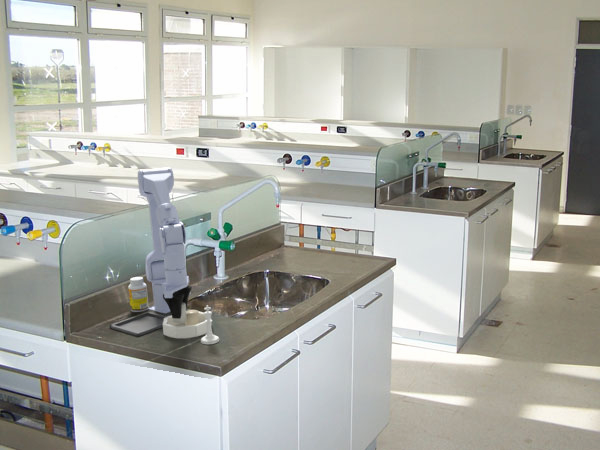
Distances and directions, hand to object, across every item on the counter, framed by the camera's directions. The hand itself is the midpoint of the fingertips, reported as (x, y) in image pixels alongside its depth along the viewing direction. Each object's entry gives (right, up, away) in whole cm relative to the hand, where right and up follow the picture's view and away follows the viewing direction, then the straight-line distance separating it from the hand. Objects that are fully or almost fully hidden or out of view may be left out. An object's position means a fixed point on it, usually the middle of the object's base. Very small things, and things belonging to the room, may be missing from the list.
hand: (179, 315), depth 197 cm
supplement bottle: (-16, -2, +24) cm, 29 cm away
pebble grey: (0, -1, 0) cm, 1 cm away
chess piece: (+9, -6, -5) cm, 12 cm away
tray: (-12, -4, +9) cm, 16 cm away
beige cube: (+3, -4, +4) cm, 7 cm away
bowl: (+2, -5, +3) cm, 6 cm away
